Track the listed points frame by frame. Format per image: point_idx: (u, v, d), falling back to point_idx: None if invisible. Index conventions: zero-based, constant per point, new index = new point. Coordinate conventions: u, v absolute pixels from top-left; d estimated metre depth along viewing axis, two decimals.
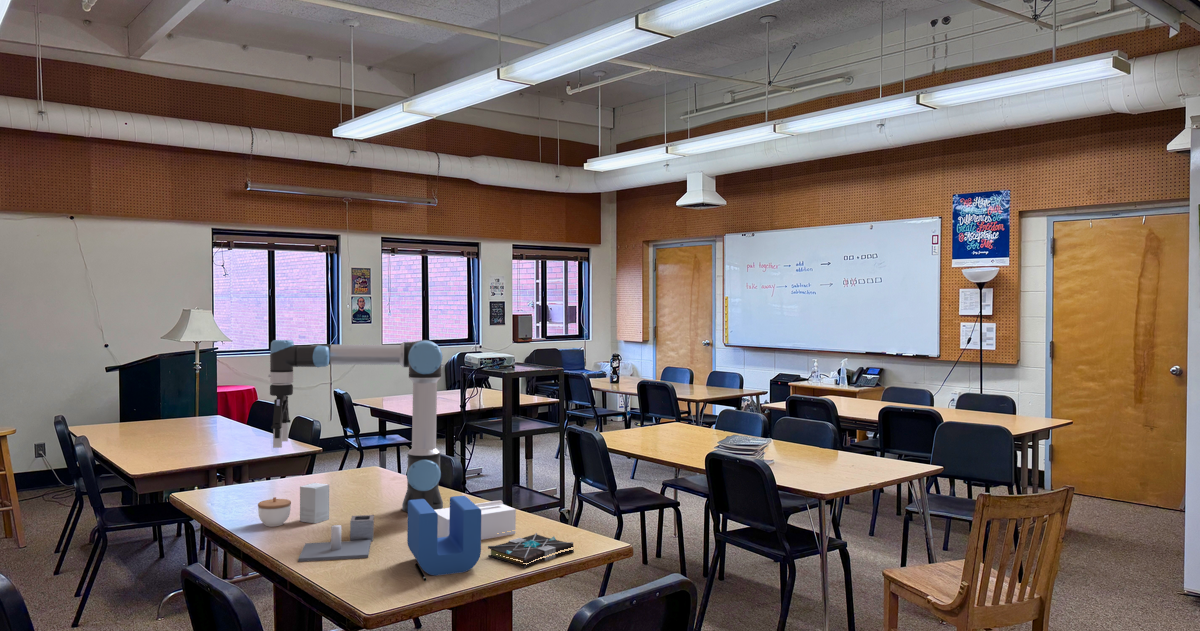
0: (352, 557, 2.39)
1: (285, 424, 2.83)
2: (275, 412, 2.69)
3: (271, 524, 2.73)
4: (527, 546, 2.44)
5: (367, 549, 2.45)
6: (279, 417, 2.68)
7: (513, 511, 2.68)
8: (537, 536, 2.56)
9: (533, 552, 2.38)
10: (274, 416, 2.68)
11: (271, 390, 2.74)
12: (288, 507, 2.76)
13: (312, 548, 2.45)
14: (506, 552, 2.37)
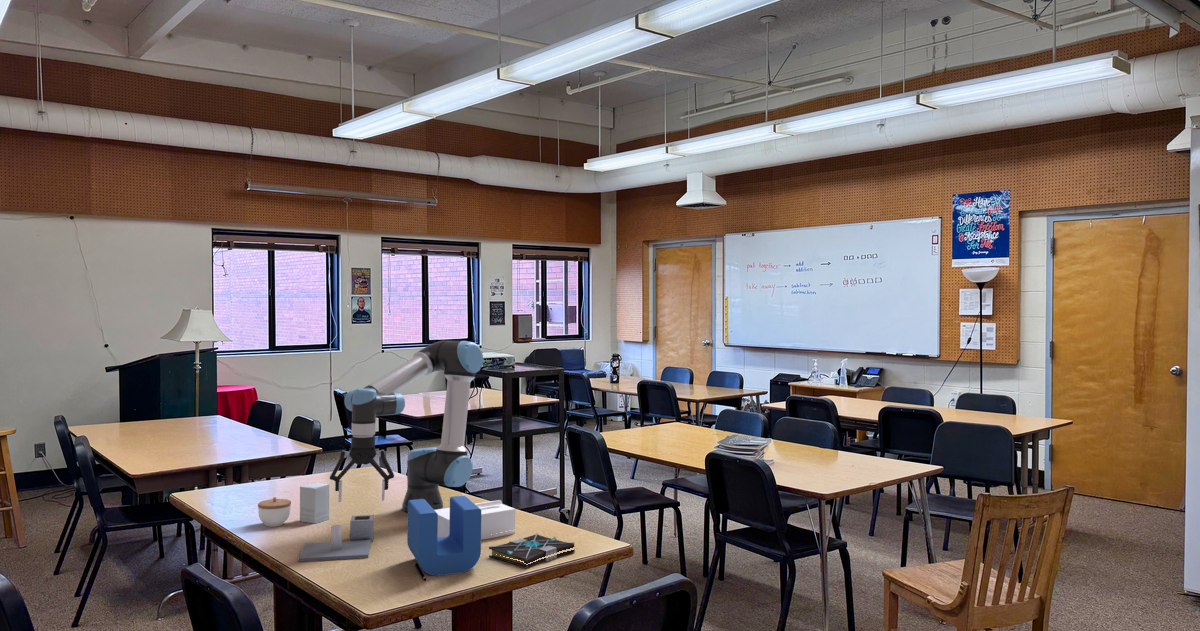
0: (352, 557, 2.39)
1: (382, 481, 2.60)
2: None
3: (271, 524, 2.73)
4: (528, 546, 2.43)
5: (367, 549, 2.45)
6: (334, 469, 2.57)
7: (513, 511, 2.68)
8: (538, 536, 2.55)
9: (534, 552, 2.37)
10: None
11: None
12: (288, 507, 2.76)
13: (312, 548, 2.45)
14: (507, 552, 2.37)
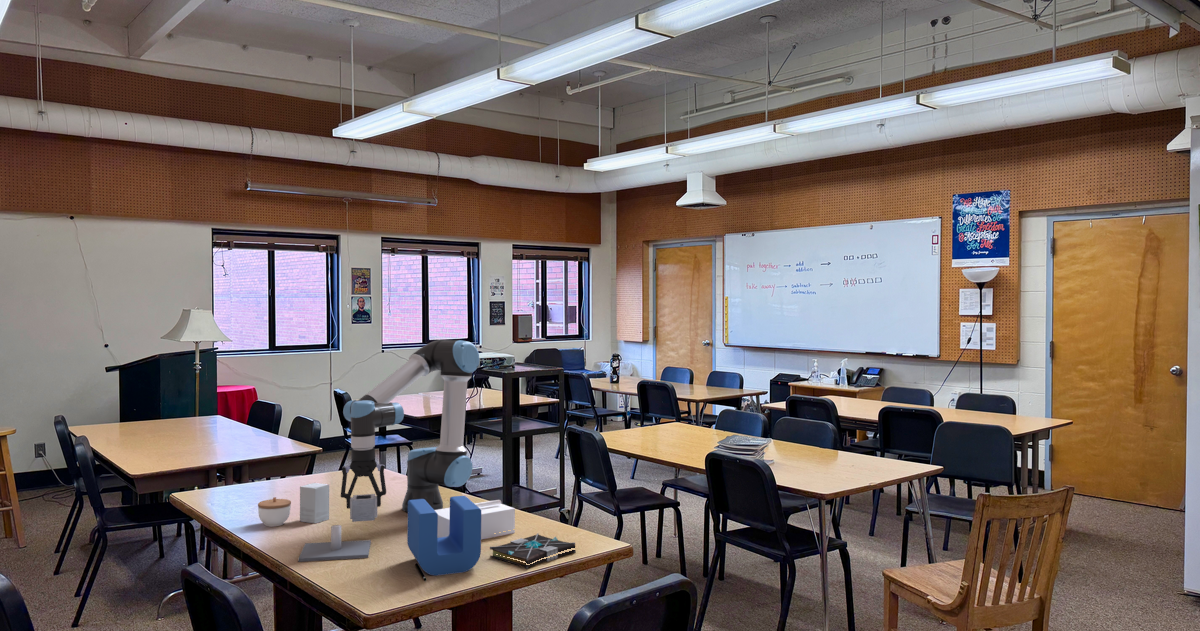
0: (352, 557, 2.39)
1: None
2: None
3: (271, 524, 2.73)
4: (529, 547, 2.43)
5: (367, 549, 2.45)
6: (341, 487, 2.58)
7: (512, 510, 2.69)
8: (539, 536, 2.55)
9: (535, 553, 2.37)
10: None
11: None
12: (288, 507, 2.76)
13: (312, 548, 2.45)
14: (508, 553, 2.37)
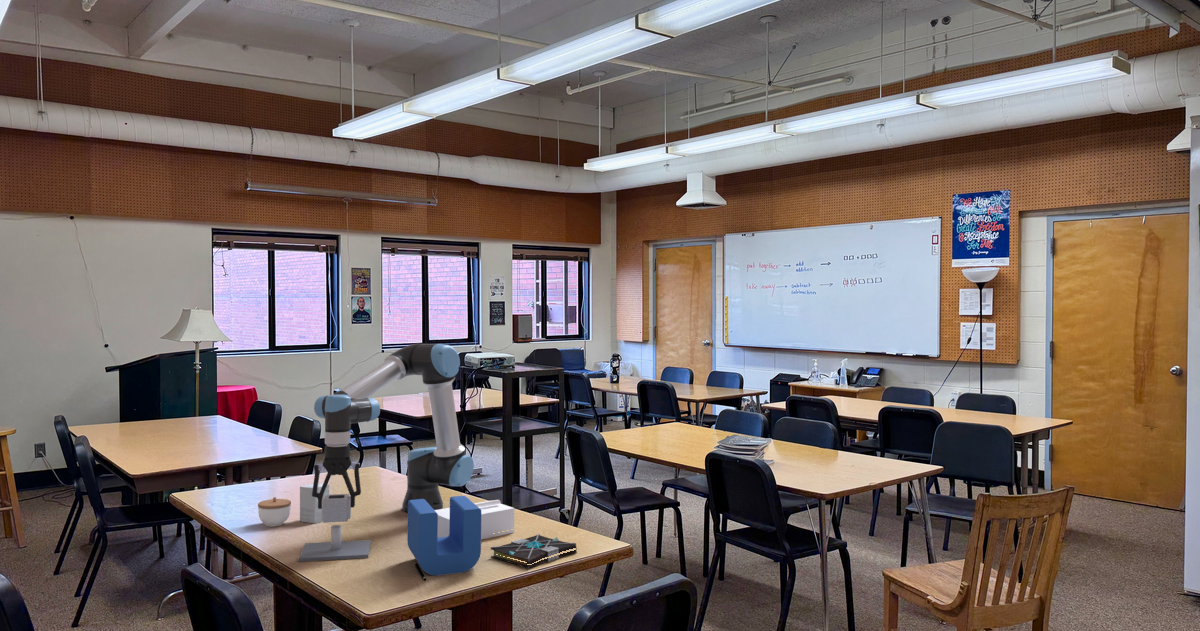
0: (352, 557, 2.39)
1: (348, 498, 2.46)
2: None
3: (271, 524, 2.73)
4: (530, 547, 2.43)
5: (367, 549, 2.45)
6: (313, 485, 2.43)
7: (512, 510, 2.69)
8: (539, 537, 2.55)
9: (536, 553, 2.37)
10: None
11: None
12: (288, 507, 2.76)
13: (312, 548, 2.45)
14: (509, 553, 2.37)
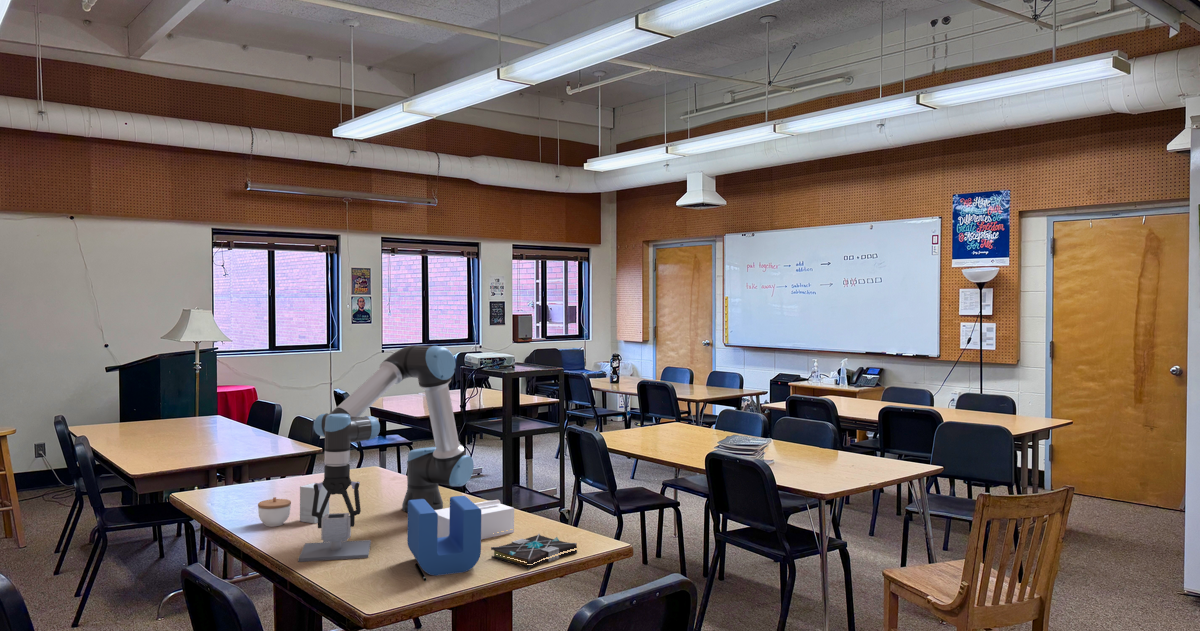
0: (352, 557, 2.39)
1: (348, 518, 2.46)
2: None
3: (271, 524, 2.73)
4: (530, 547, 2.43)
5: (367, 549, 2.45)
6: (313, 505, 2.43)
7: (512, 510, 2.70)
8: (540, 537, 2.55)
9: (537, 553, 2.37)
10: None
11: None
12: (288, 507, 2.76)
13: (312, 548, 2.45)
14: (510, 553, 2.37)
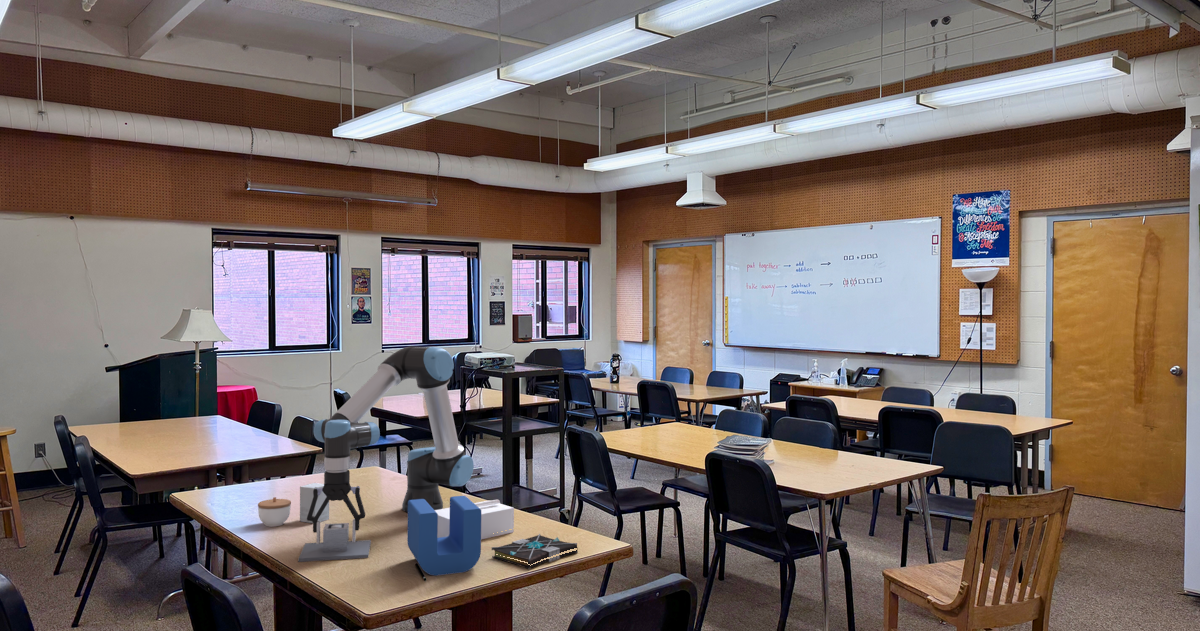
0: (352, 557, 2.39)
1: None
2: None
3: (271, 524, 2.73)
4: (531, 547, 2.43)
5: (367, 549, 2.45)
6: None
7: (511, 510, 2.70)
8: (540, 537, 2.55)
9: (537, 553, 2.37)
10: None
11: None
12: (288, 507, 2.76)
13: (312, 548, 2.45)
14: (510, 553, 2.36)
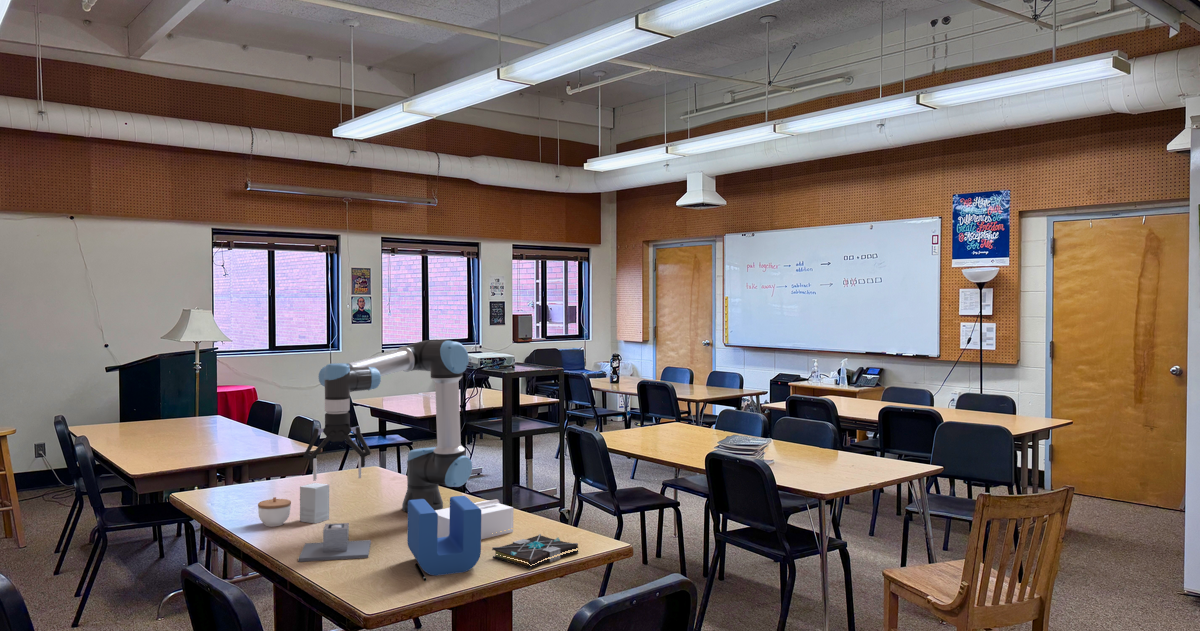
0: (352, 557, 2.39)
1: None
2: None
3: (271, 524, 2.73)
4: (532, 547, 2.42)
5: (367, 549, 2.45)
6: None
7: (511, 509, 2.70)
8: (541, 537, 2.55)
9: (538, 553, 2.37)
10: None
11: None
12: (288, 507, 2.76)
13: (312, 548, 2.45)
14: (511, 553, 2.36)
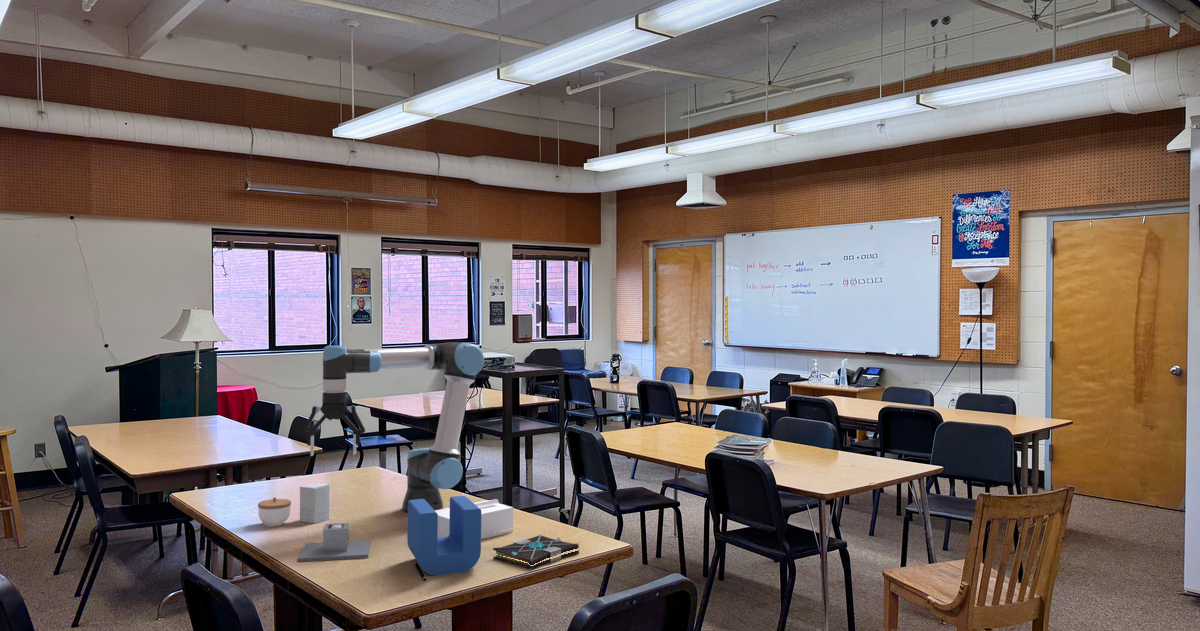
0: (352, 557, 2.39)
1: None
2: None
3: (271, 524, 2.73)
4: (532, 547, 2.42)
5: (367, 549, 2.45)
6: None
7: (511, 509, 2.70)
8: (542, 537, 2.54)
9: (539, 553, 2.36)
10: None
11: None
12: (288, 507, 2.76)
13: (312, 548, 2.45)
14: (512, 554, 2.36)
